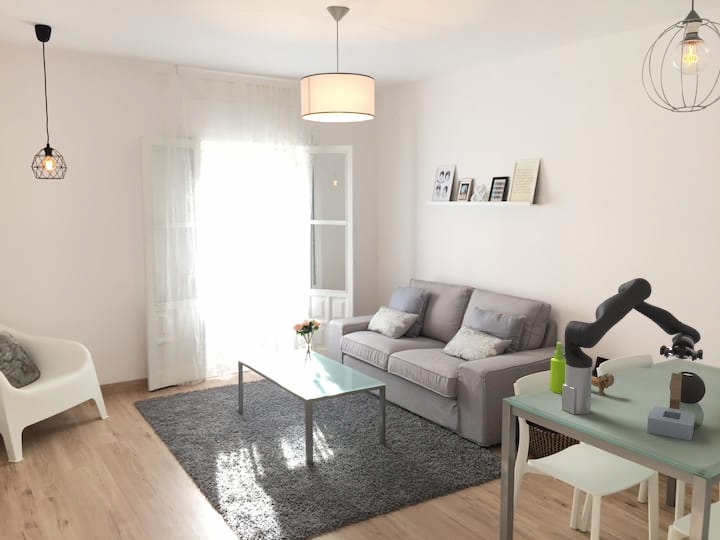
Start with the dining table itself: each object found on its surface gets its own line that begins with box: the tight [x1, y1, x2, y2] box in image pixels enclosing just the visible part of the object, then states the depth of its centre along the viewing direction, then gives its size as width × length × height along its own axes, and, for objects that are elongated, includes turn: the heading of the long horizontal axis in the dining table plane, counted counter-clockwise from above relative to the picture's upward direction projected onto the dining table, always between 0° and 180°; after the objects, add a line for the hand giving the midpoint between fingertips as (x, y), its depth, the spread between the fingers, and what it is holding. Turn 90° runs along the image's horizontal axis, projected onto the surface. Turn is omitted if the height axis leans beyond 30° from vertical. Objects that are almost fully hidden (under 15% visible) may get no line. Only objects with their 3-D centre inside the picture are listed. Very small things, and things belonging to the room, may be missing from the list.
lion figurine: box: [591, 373, 615, 396], centre depth 244 cm, size 15×5×9 cm, turn 45°
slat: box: [668, 372, 683, 410], centre depth 214 cm, size 5×3×16 cm, turn 148°
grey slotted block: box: [646, 404, 696, 441], centre depth 205 cm, size 15×13×5 cm
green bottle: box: [549, 341, 566, 394], centre depth 246 cm, size 6×7×20 cm
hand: (679, 356), depth 222 cm, fingers open, 8 cm apart
